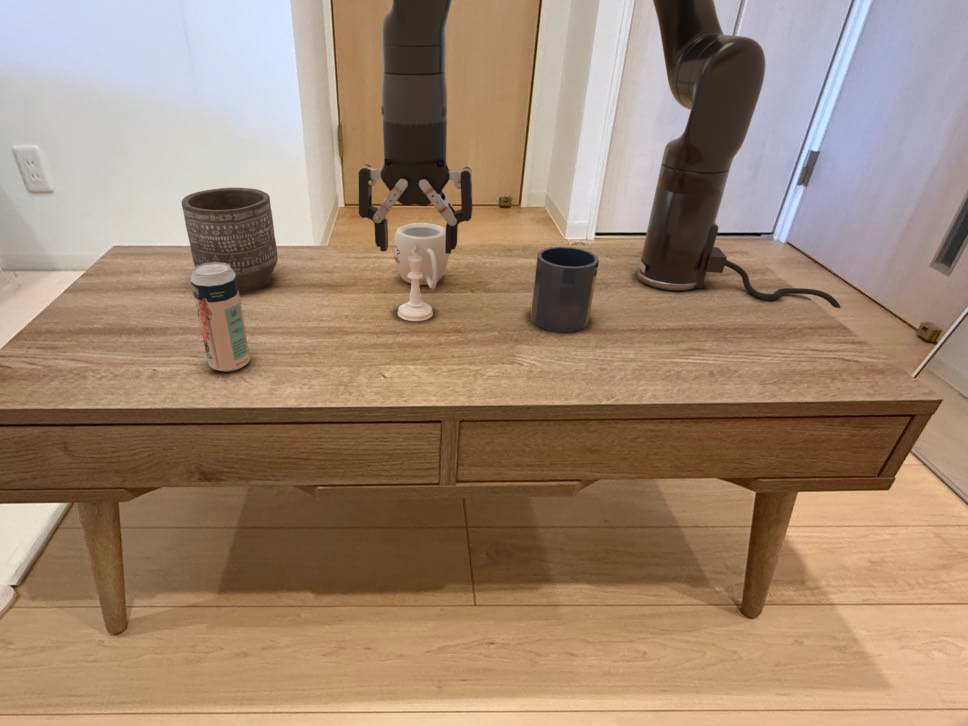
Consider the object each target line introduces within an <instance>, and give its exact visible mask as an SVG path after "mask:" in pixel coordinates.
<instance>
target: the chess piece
mask: <svg viewBox="0 0 968 726" xmlns="http://www.w3.org/2000/svg"><path fill="white" fill-rule="evenodd" d="M418 251H419V247H418V244H417V243H414V244H413V249H412V250H411V254H413V256H410V257H408V262H409V265H410V268H411V271H412V272H410V273H408V275H407V277H408V278H410V279H412V283H411V285H410V293H409V299H408V301H406V302H405V303H402V304H401V305H399V307H398V308H397V315H398V317H399V318H400V319H402V320H405V321H409V322H422V321H427V320H428V319H431V318H432V317H433V315H434V312H433V307H432V306H431V305H430V304H429V303H426V302H424V301H423V300H422V295H421V288H420V285H419V279H421V278H423V274H422V273H421V272H419V270H420V267H421V264H422V261H423V258H422V257H421V256H418Z"/></svg>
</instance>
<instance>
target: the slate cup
mask: <svg viewBox="0 0 968 726" xmlns="http://www.w3.org/2000/svg"><path fill="white" fill-rule="evenodd" d="M599 263H600V260H599V257H598V255H596V254H595V253H593V252H592V251H589V250H586V249H583V248H579V247H574V246H573V247H572V246H552V247H547V248H543V249H541V250H539V252H537V255H536V262H535V271H534V280H533V289H532V297H531V306H530V321H531V323H533V324H534V325H535V326H537V327H538V328H541V329H543V330H546V331H550V332H553V333H554V332H555V333H574V332H579V331H581V330H584V329H585V328H586V327H587V326H588V323H589V321H590V315H591V309H592V303H593V298H594V292H595V286H596V281H597V275H598V270H599Z"/></svg>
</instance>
